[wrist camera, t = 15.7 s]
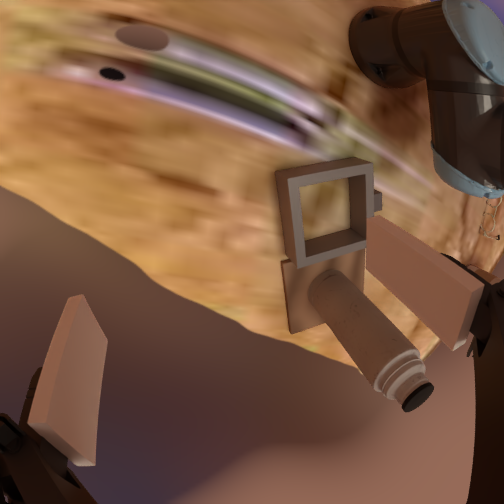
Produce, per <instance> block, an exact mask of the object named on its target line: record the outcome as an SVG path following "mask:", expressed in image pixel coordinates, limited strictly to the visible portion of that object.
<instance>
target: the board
mask: <svg viewBox="0 0 504 504" xmlns="http://www.w3.org/2000/svg"><path fill="white" fill-rule="evenodd" d="M281 266H282V274H283V281H284V289H285V298H286V306H287V314H288V323H289V331H290V333H291V334H294V333H297V332H300V331H303V330H306V329H309V328H312V327H315V326H318V325H320V324H323V323H326V322H325V321H324V320H323V318H322V317H321V316H320V314H319V313H318V312H317V310H316V309H315V308H314V306H313V305H312V304H311V302H310V300H309V297H308V291H309V288H310V285H311V283H312V282H313V281H314V279H315V278H316V277H317V276H318V275H320V274H321V273H323V272H325V271H328V270H338V271H340V272H342V273H343V274H344V275H345V276H346V277H347V278H348V279H349V280H350V281H351V282H352V283H353V284H354V285H355V286H356V287H357V288H358V289H359V290H360V291H361V292H362V293H363V290H364V269H365V248H364V249H361V250H358V251H354V252H351V253H348V254H345V255H341V256H338V257H335V258H332V259H328V260H325V261H322V262H319V263H315V264H312V265H309V266H305V267H302V268H299V269H297V268H296V266H295V265H294V264H293V263H292V261H291V260H290V259H288V260H284V261H281Z"/></svg>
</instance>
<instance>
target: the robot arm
mask: <svg viewBox="0 0 504 504" xmlns="http://www.w3.org/2000/svg"><path fill="white" fill-rule="evenodd" d="M349 42H350V47H351V51H352V54H353V56H354V59H355V61H356V63H357V64H358V66H359V67H360V69H361V70H362V71H363V73H364V74H365V75H366V76H367V77H368V78H369V79H371V80H372V81H373V82H375V83H376V84H378V85H380V86H383V87H386V88H406V87H409V86H411V85H413V84H415V83H418V82H420V81H422V80H424V79H426V82H427V90H428V99H429V109H430V121H431V137H432V140H431V148H432V150H433V161H434V168H435V171H436V172H437V174H438V175H439V176H440V178H441V179H442V180H443V181H444V182H445V183H447V184H448V185H450V186H451V187H453V188H455V189H457V190H459V191H461V192H464V193H466V194H469V195H472V196H476V197H481V198H482V197H483V196H484V197H486V198H488V199H495V198H499V197H501V196H502V195H503V194H504V26H503V24H502V23H501V21H500V20H499V18H498V17H497V16H496V15H495V13H494V12H493V11H492V10H491V9H490V8H489V7H488V6H487V5H485V4H484V3H482V2H481V1H479V0H440V1H434V2H429V3H425V4H420V5H416V6H412V7H408V8H404V9H402V8H395V7H387V6H374V7H371V8H368V9H365V10H363V11H361V12H359V13H358V14H357V15H356V16H355V17H354V19H353V21H352V23H351V26H350V31H349ZM366 269H367V270H368V271H369V272H370V273H371V274H372V275H373V276H374V277H375V278H377V279H378V280H379V281H380V282H381V283H382V284H383V285H384V286H385V287H386V288H388V289H389V290H390V291H391V292H392V293H393V294H394V295H395V296H396V297H397V298H398V299H399V300H400V301H401V302H403V303H404V304H405V305H406V306H407V307H408V308H409V309H410V310H411V311H412V312H413V313H414V314H415V315H416V316H417V317H418V318H419V319H420V320H421V321H422V322H423V323H424V324H425V325H426V326H427V327H429V328H430V329H431V330H432V331H433V332H434V333H435V334H436V335H437V336H438V337H439V338H440V339H441V340H442V341H443V342H444V343H445V344H446V345H447V346H448V347H449V348H450V349H451V350H452V351H453V350H455V349H457V348H458V347H460V346H461V345H463V344H464V343H465V342H466V339H467V336H468V334H469V331H470V332H471V333H472V334H473V335H474V337H473V340H472V342H471V345H470V347H469V350H468V352H467V357H469V356H470V353H471V351H472V350H473V356H472V357H474V370H475V390H476V391H475V395H476V419H475V443H474V456H473V465H472V474H471V482H470V488H469V494H468V499H467V503H466V504H504V283H503V282H499V283H495V284H493V285H491V284H490V283H489V282H487V281H486V280H485V279H483V278H482V277H480V276H479V275H478V274H476V273H475V272H473V271H472V270H471V269H468V268H467V267H466V266H465V265H463V264H461V263H460V262H459V261H458V260H456V259H455V258H453V257H451V256H449V255H446V254H443V253H439V252H437V251H436V250H434V249H433V248H431V247H430V246H428V245H427V244H425V243H424V242H422V241H421V240H419V239H417V238H416V237H414V236H413V235H411V234H410V233H408V232H406V231H405V230H403V229H401V228H400V227H398V226H397V225H395V224H393V223H392V222H390V221H388V220H387V219H385V218H383V217H382V216H380V215H378V216H374V217H370V218H367V232H366ZM107 343H108V340H107V339H106V337H105V335H104V333H103V331H102V330H101V328H100V326H99V324H98V323H97V321H96V319H95V317H94V315H93V313H92V311H91V309H90V307H89V305H88V303H87V301H86V300H85V297H84V295H83V294H82V295H77V296H74V297H70V298H68V301H67V303H66V305H65V308H64V310H63V313H62V315H61V318H60V320H59V323H58V326H57V328H56V331H55V333H54V336H53V339H52V342H51V344H50V347H49V350H48V353H47V356H46V359H45V362H44V365H43V367H40V368H38V369H37V371H36V372H35V374H34V375H33V377H32V379H31V382H30V385H29V390H28V392H27V395H26V399H25V402H24V406H23V410H22V413H21V417H20V421H19V425H17V424H16V423H15V422H14V421H13V420H12V419H11V418H10V417H9V416H8V415H7V414H4V413H0V504H98V503H97V502H96V501H95V500H94V498H93V497H92V496H91V495H90V494H89V492H88V491H87V490H86V489H85V487H84V486H83V485H82V483H81V482H80V481H79V480H78V478H77V477H76V476H75V474H74V473H73V471H71V470H70V469H69V468H68V467H67V462H68V459H69V460H70V461H71V462H73V463H74V464H75V465H77V466H95V456H96V455H95V454H96V437H97V423H98V411H99V401H100V392H101V384H102V376H103V369H104V362H105V355H106V349H107ZM4 495H5V496H7V497H8V503H7V502H6V501H5V497H4Z"/></svg>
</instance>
